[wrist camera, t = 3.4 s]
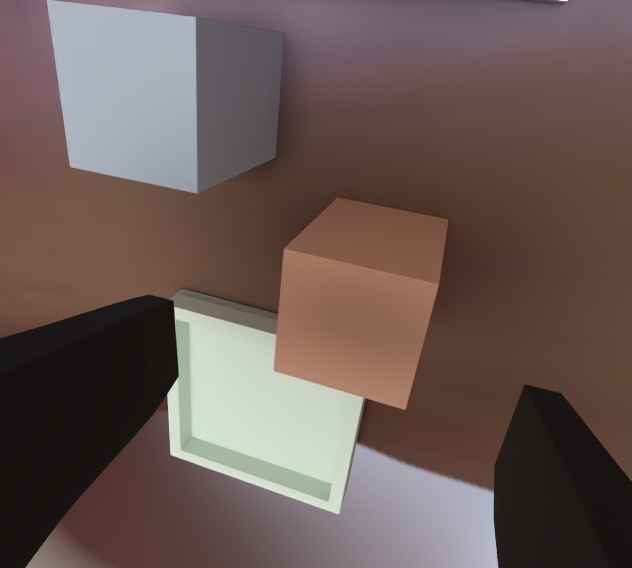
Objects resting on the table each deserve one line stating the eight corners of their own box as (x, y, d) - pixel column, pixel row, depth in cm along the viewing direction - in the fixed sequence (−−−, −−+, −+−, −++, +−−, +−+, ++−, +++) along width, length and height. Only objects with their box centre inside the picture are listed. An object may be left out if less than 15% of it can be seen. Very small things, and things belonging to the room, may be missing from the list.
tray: (378, 340, 18) (370, 360, 17) (346, 488, 22) (339, 514, 21) (182, 288, 20) (162, 303, 19) (186, 434, 24) (170, 454, 23)
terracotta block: (448, 219, 16) (439, 284, 11) (423, 317, 17) (405, 409, 13) (337, 197, 16) (284, 248, 12) (324, 292, 18) (273, 371, 14)
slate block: (284, 33, 15) (195, 16, 10) (275, 157, 17) (197, 193, 12) (176, 20, 16) (46, -1, 11) (179, 140, 17) (70, 166, 13)
